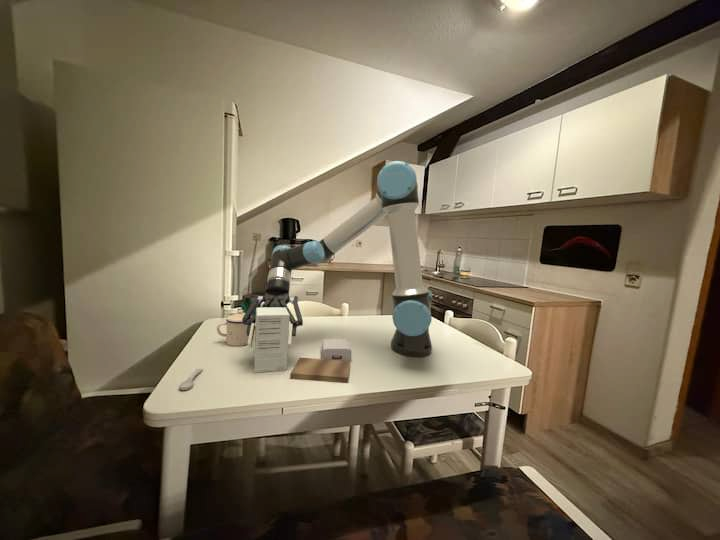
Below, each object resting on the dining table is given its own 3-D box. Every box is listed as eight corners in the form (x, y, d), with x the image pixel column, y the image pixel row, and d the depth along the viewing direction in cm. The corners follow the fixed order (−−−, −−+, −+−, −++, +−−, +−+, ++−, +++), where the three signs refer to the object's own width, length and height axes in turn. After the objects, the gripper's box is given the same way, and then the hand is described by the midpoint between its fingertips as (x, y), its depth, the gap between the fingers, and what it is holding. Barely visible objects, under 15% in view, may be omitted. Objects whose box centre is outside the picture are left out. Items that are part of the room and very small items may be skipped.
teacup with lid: (253, 337, 110) (254, 307, 109) (252, 345, 102) (253, 313, 101) (218, 338, 106) (219, 307, 105) (214, 347, 98) (215, 314, 97)
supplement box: (253, 359, 91) (255, 306, 89) (284, 357, 94) (286, 306, 92) (254, 373, 82) (256, 315, 80) (287, 370, 85) (290, 314, 83)
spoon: (176, 392, 70) (176, 384, 70) (194, 373, 82) (194, 366, 82) (189, 392, 70) (190, 384, 70) (206, 373, 82) (206, 366, 82)
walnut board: (349, 365, 91) (350, 361, 91) (347, 382, 80) (348, 377, 80) (299, 362, 91) (299, 357, 91) (290, 378, 80) (290, 373, 80)
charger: (345, 345, 108) (350, 363, 94) (320, 345, 107) (322, 363, 92) (346, 333, 108) (351, 348, 93) (321, 333, 106) (322, 348, 92)
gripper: (312, 291, 103) (309, 351, 89) (244, 289, 99) (230, 350, 85) (313, 279, 97) (310, 340, 83) (241, 275, 93) (225, 339, 80)
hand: (269, 345), depth 84 cm, fingers closed on supplement box, 10 cm apart
